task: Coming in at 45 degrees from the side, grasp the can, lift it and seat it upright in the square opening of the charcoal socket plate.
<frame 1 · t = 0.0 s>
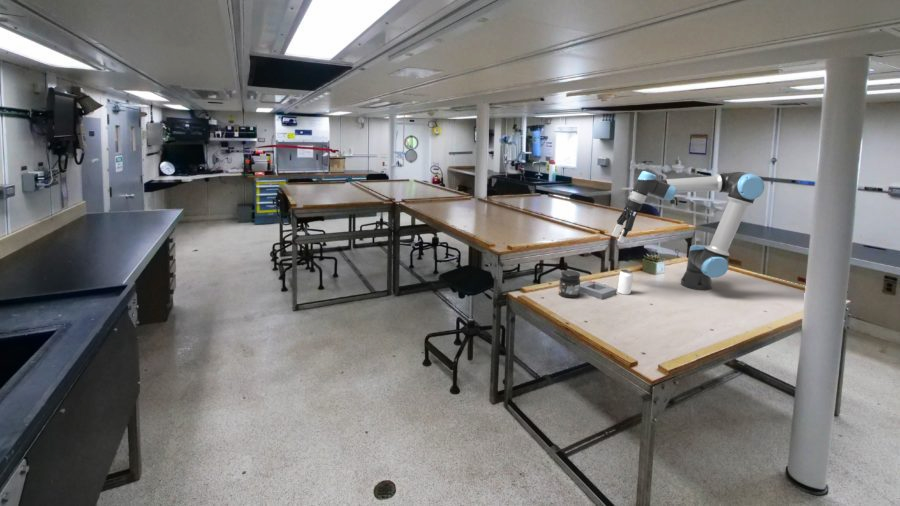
hand: (617, 238, 243), 28 cm above the table, tool tilted 20°, fingers open, 13 cm apart
supplement container: (568, 295, 241), on the table
socket plate: (595, 292, 245), on the table
can: (623, 293, 246), on the table
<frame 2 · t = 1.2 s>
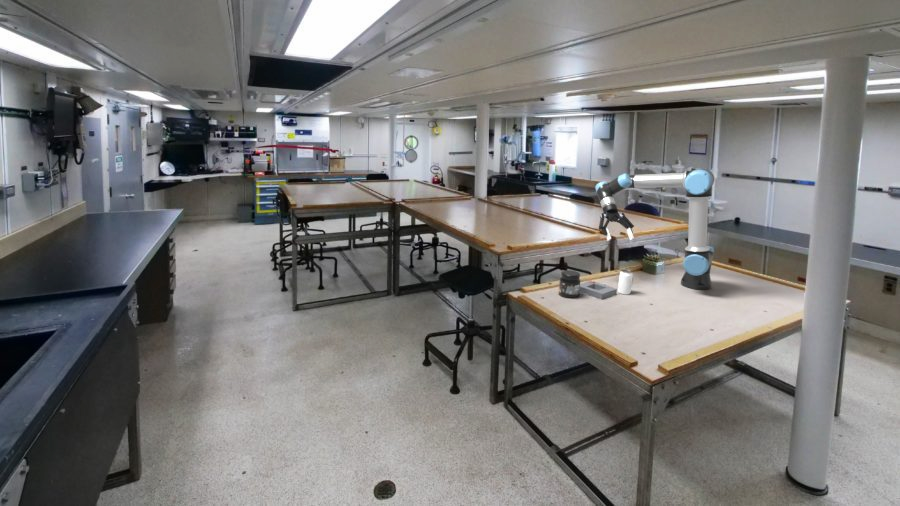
hand: (620, 239, 249), 26 cm above the table, tool tilted 45°, fingers open, 13 cm apart
nothing on the table moved.
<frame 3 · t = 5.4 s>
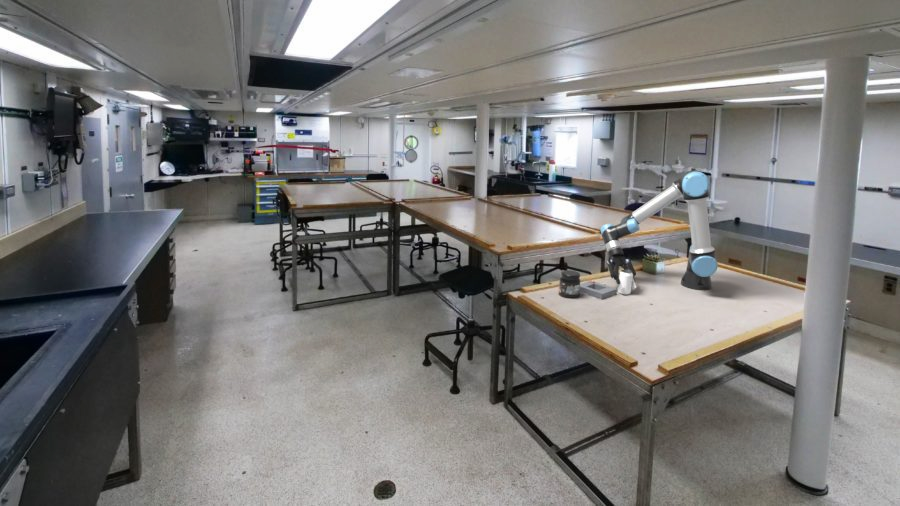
hand: (628, 288, 241), 3 cm above the table, tool tilted 45°, fingers closed on can, 6 cm apart
can: (623, 293, 245), on the table, touching gripper
everything else where it was.
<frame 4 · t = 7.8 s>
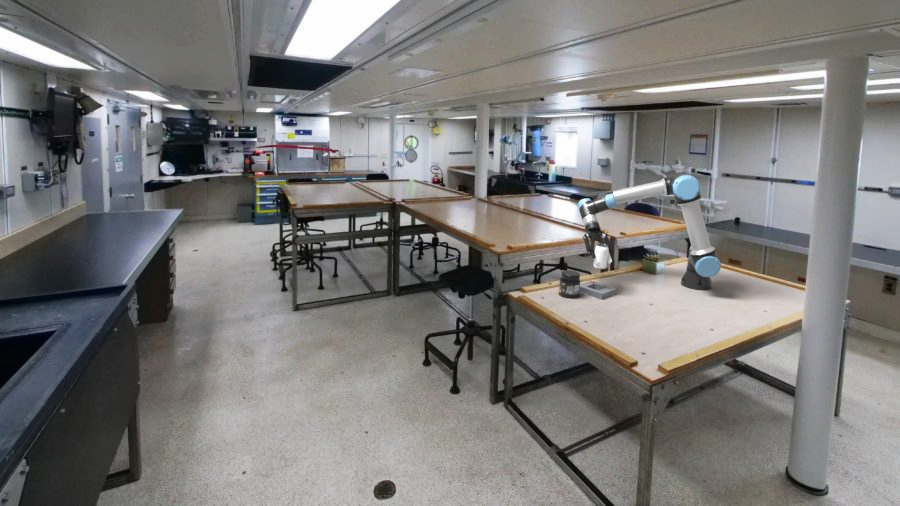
hand: (604, 263, 237), 17 cm above the table, tool tilted 45°, fingers closed on can, 6 cm apart
can: (599, 267, 242), point 14 cm above the table, touching gripper
everything else where it was.
when the fingers open (5 cm above the table, at t = 10.4 s): can drops 2 cm, resting in socket plate.
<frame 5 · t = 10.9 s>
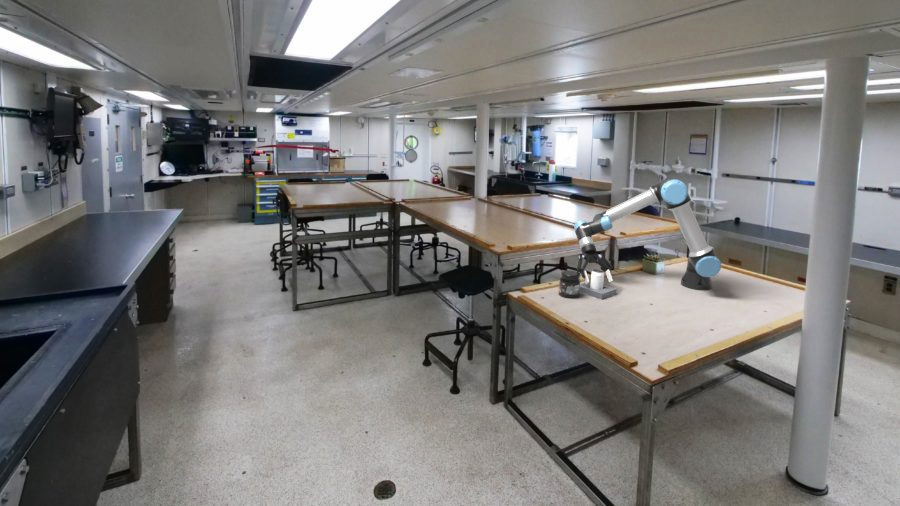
hand: (599, 282, 241), 6 cm above the table, tool tilted 45°, fingers open, 13 cm apart
can: (595, 292, 245), resting in socket plate
everything else where it was.
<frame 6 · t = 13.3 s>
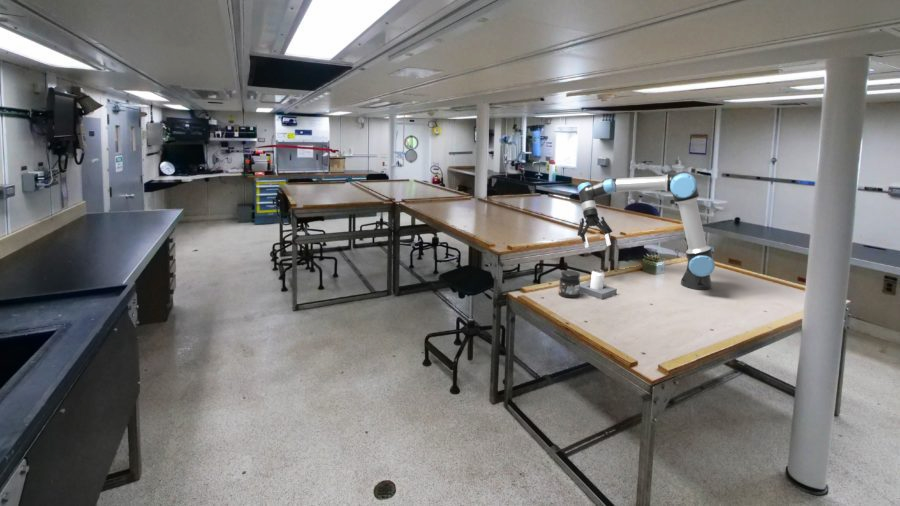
hand: (598, 246, 253), 21 cm above the table, tool tilted 30°, fingers open, 13 cm apart
nothing on the table moved.
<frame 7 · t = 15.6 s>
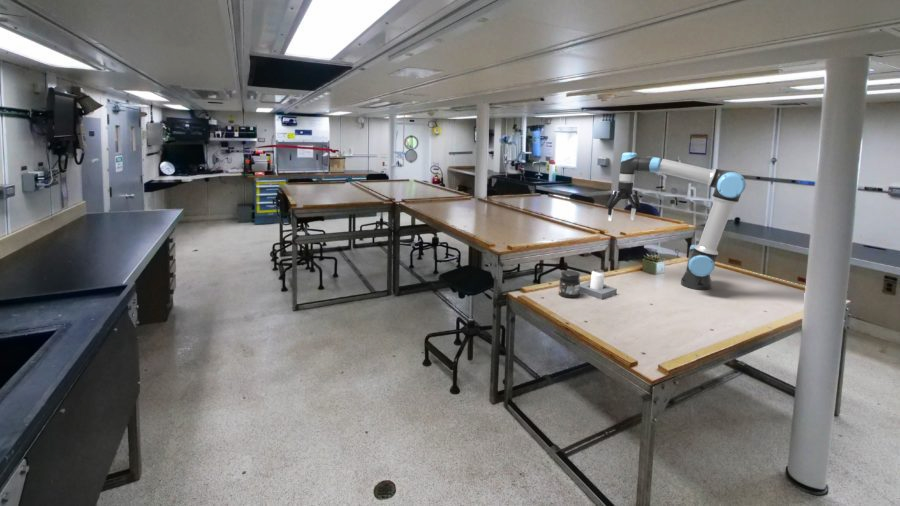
hand: (621, 220, 256), 35 cm above the table, tool pointing down, fingers open, 13 cm apart
nothing on the table moved.
at the end: can 0.2 cm from the socket plate (horizontally); can touching table; can tilted 0° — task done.
